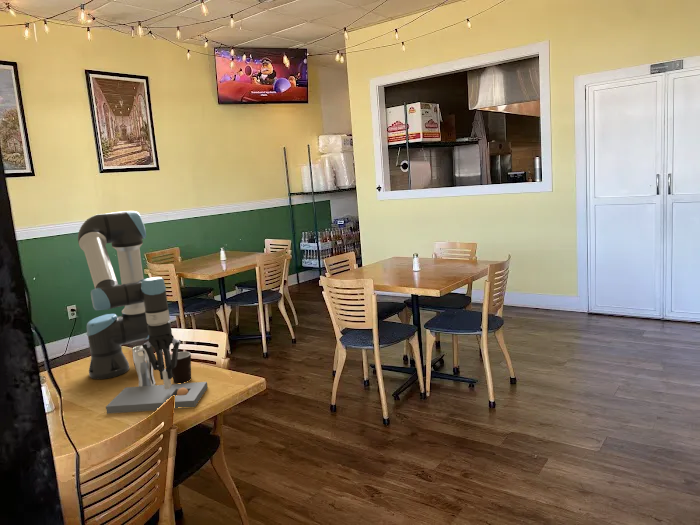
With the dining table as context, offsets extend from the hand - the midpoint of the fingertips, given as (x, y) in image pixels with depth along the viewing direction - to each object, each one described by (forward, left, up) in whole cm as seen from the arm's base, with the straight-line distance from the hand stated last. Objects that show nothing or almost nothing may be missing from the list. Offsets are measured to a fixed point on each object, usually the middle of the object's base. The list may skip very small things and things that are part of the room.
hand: (168, 387), depth 191 cm
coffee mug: (-19, -1, -5) cm, 20 cm away
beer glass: (-15, -14, -5) cm, 21 cm away
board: (0, -4, -5) cm, 6 cm away
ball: (0, +5, -3) cm, 5 cm away
